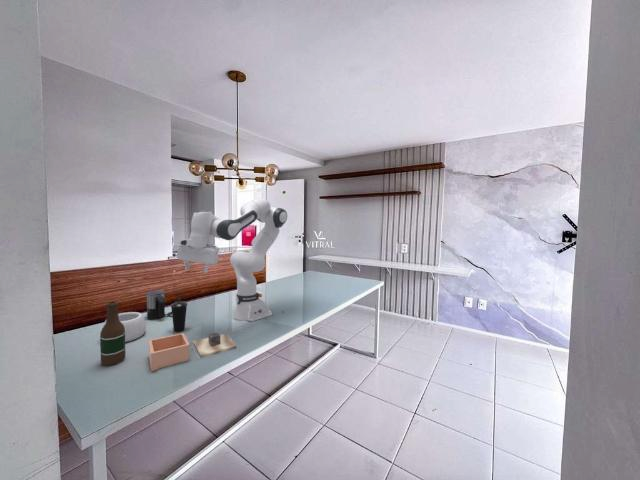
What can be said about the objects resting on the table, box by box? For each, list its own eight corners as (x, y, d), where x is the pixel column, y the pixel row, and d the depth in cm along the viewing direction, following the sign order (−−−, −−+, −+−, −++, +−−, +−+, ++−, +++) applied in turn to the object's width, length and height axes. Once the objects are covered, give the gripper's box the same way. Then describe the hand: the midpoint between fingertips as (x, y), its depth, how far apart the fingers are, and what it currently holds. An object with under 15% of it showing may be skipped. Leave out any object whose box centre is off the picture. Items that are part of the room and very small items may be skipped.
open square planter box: (183, 348, 114) (183, 332, 114) (189, 361, 104) (189, 344, 103) (148, 356, 106) (148, 340, 106) (151, 371, 96) (151, 353, 95)
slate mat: (227, 335, 128) (227, 334, 128) (239, 349, 114) (239, 348, 114) (190, 344, 118) (190, 343, 118) (198, 361, 104) (198, 360, 104)
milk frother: (142, 318, 145) (142, 293, 144) (167, 309, 160) (167, 286, 159) (160, 322, 140) (160, 296, 139) (184, 313, 155) (184, 289, 154)
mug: (110, 331, 127) (110, 312, 127) (149, 328, 133) (149, 309, 133) (90, 353, 107) (89, 330, 107) (137, 347, 113) (136, 325, 113)
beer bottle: (127, 361, 102) (126, 302, 101) (102, 369, 97) (101, 307, 95) (123, 354, 107) (122, 298, 106) (99, 361, 102) (97, 302, 100)
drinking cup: (180, 334, 128) (180, 294, 126) (167, 332, 129) (166, 293, 128) (190, 327, 135) (190, 290, 134) (178, 326, 137) (178, 289, 135)
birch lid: (226, 335, 126) (226, 325, 126) (236, 348, 115) (236, 337, 114) (192, 343, 117) (192, 332, 117) (200, 358, 105) (200, 346, 105)
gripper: (222, 245, 125) (219, 273, 125) (185, 240, 128) (182, 267, 129) (215, 245, 119) (211, 275, 119) (176, 240, 122) (173, 269, 122)
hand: (196, 271), depth 124 cm, fingers open, 8 cm apart
